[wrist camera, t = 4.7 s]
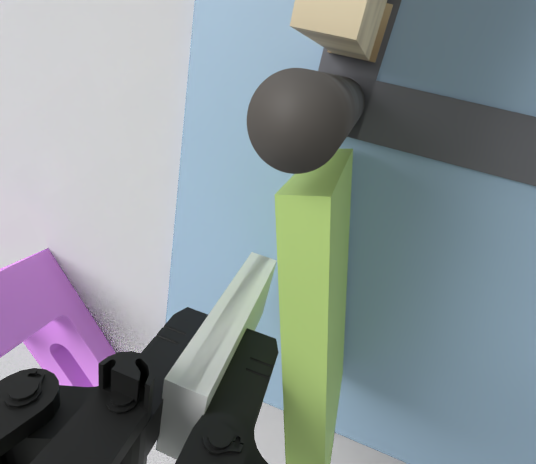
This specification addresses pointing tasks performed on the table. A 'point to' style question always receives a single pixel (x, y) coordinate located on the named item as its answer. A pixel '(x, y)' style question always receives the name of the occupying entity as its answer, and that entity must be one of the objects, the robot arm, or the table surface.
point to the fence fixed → (316, 87)
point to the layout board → (389, 216)
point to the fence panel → (313, 303)
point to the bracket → (50, 321)
